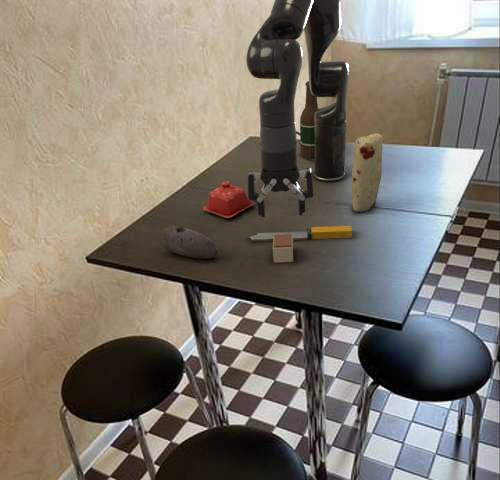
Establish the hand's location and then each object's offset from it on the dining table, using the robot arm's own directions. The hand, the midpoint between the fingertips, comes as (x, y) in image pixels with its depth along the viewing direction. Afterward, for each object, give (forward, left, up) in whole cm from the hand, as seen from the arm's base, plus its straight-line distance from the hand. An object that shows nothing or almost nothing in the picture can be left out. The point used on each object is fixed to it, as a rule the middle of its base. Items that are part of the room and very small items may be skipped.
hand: (281, 214), depth 112 cm
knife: (-7, +7, -11) cm, 15 cm away
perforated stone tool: (-9, -20, -11) cm, 25 cm away
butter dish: (-30, -6, -11) cm, 33 cm away
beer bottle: (-59, +31, -11) cm, 68 cm away
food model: (-15, +29, -11) cm, 34 cm away
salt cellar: (0, 0, -11) cm, 11 cm away
